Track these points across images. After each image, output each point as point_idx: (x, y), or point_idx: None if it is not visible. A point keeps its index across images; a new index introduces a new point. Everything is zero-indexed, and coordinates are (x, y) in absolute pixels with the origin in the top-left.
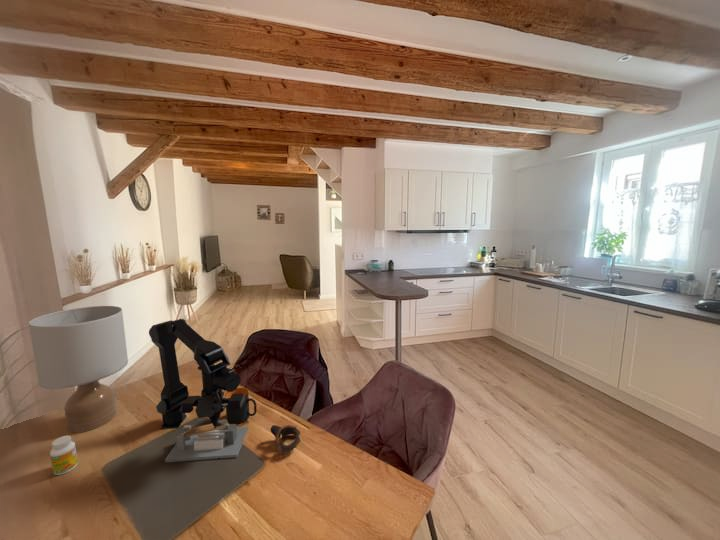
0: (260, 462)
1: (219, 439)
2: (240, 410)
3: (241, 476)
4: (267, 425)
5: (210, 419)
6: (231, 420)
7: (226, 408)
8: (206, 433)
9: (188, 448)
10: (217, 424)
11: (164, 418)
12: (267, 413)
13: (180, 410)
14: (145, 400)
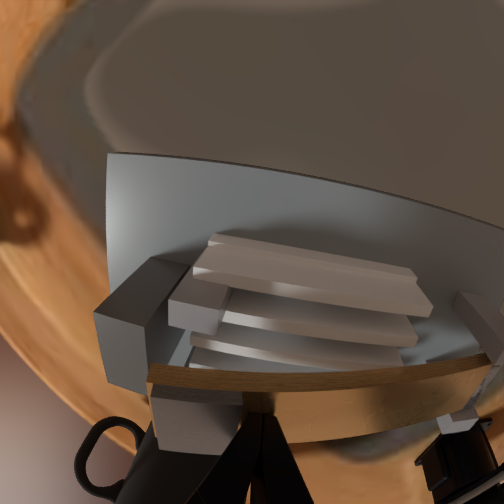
0: (23, 108)
1: (221, 282)
2: (150, 463)
3: (87, 22)
4: (58, 345)
5: (302, 498)
6: None
7: None
8: None
9: (438, 295)
10: (230, 422)
11: (488, 449)
12: (90, 406)
13: (448, 485)
14: None
